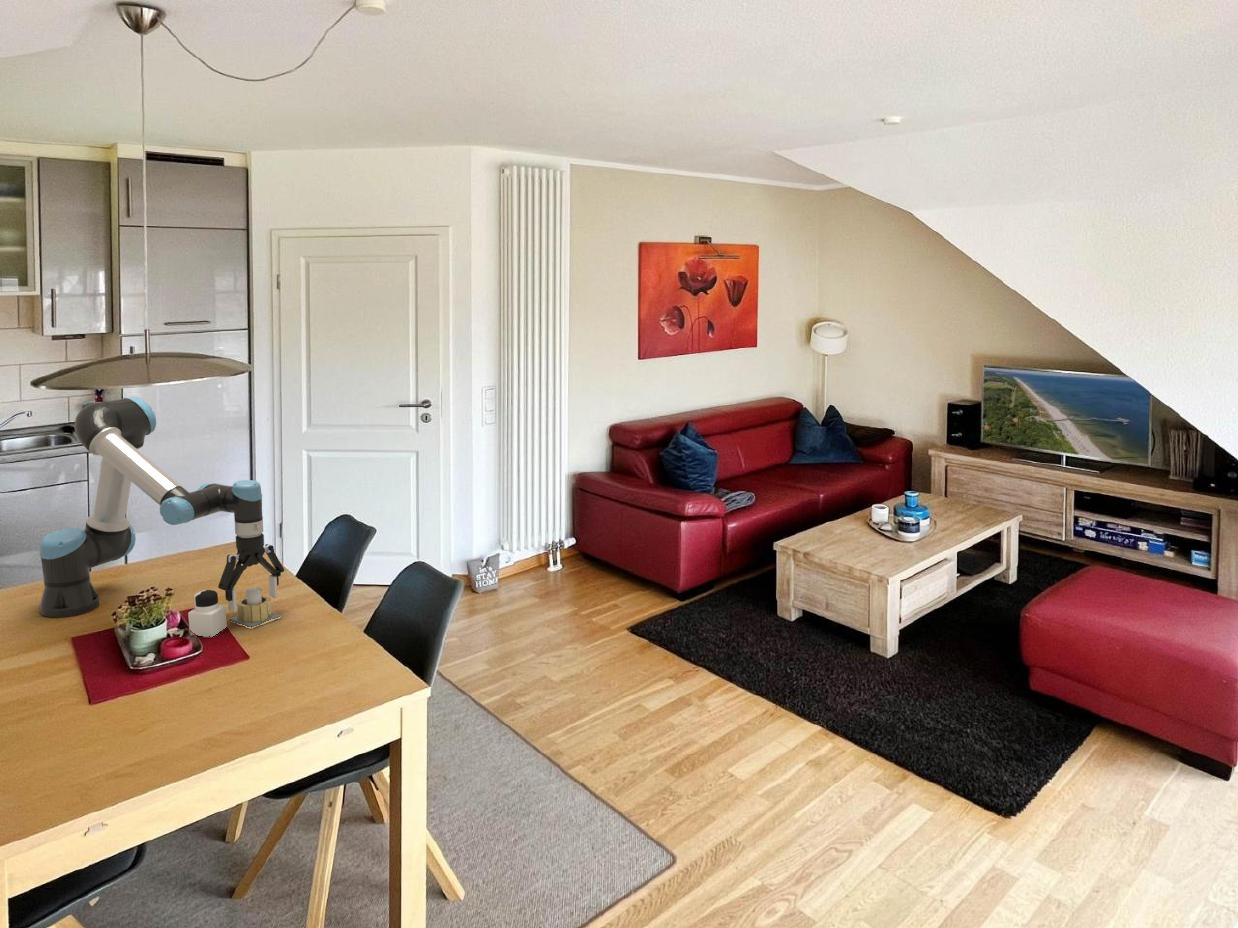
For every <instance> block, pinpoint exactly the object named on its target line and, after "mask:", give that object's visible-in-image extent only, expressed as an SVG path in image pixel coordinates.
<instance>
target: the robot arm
mask: <svg viewBox="0 0 1238 928" xmlns="http://www.w3.org/2000/svg"><path fill="white" fill-rule="evenodd" d="M156 427H157V417H156V413H155V411H153V409H152V406H151V405H150V404H149V403H148V402H146V401H145V400H144V399H142V398H138V397H124V398H121V399H115V400H114V399H113V400H107V401H101V402H99V401H98V402H93V403H90V404H87V405H85V406H84V407H82V408H81V410H80V411H79V412H78V414H77V415H76V416H75V420H74V431H75V434H76V437H77V439H78V441H79V443H80V444H81V445H82V446H83V447H84V449H86V450H87V451H88V452H90V453H91V454H92V455H93V456H100V457H101V466H100V470H99V476H98V477H99V478H98V483H97V489H96V496H95V501H94V502H95V503H94V509H93V514H91V515H89V516H87V518H86V523H85V528H84V529H82V528H79V527H70V528H69V527H68V528H65V529H58V530H55V531H53V532H50V533H48V534H46V535H45V536H44V537H42V539H41V540H40V543H39V548H40V549H39V556H40V560H41V566H42V567H41V568H42V576H43V583H44V584H43V585H44V587H43V588H44V589H43V591H42V596H41V599H40V603H39V610H40V615H42V616H44V617H48V618H66V617H73V616H79V615H83V614H86V613H89V612H91V611H94V610H95V609H97V608H98V607H99V606H100V603H101V602H100V597H99V594H98V592H97V590H96V589H95V587H94V584H93V583H92V581H91V576H90V569H91V568H94V567H98V566H101V565H104V564H106V563H110V562H113V561H117V560H119V559H121V558H123V557H125V556H128V555H129V554H130V553H131V552H132V550H133V549H134V547H135V544H136V538H137V537H136V533H134V532H135V529H134V528H133V526H132V525H131V524H130V520H129V519H128V518H126V515H127V508H128V503H129V497H130V490H131V486H132V484H134V485H135V486H136V487H137V488H138V489H140V491H142V492H143V493H145V494H146V495H147V496H148V497H149V498H151V500H153V502H155V503H156V504H158V505H159V514H160V516H161V517H162V520H163V521H164V522H165V523H167V524H169V525H170V526H171V525H173V526H177V525H182V524H186V523H190V522H192V521H194V520H197V519H201V518H203V517H207V516H209V515H213V514H216V513H218V512H223V513H224V512H225V513H231V514H233V517H234V533H235V535H236V536H235V546H236V550H237V552H236V554H227V556H226V563H225V567H224V568H223V569H224V570H223V572H222V575H221V577H220V580H219V583H218V586H217V587H218V588H217V589H220V590H222V591H224V593H225V600H226V601H227V603H228V611H231V612H234V613H236V612H238V611H237V593H236V592H237V590H236V589H235V586H236V585H237V583H238V581H239V579H240V577H242V574H243V573H244V571H245V570H247V569H248V567H252V566H254V565H255V566H256V565H258V564H260V565H261V566H262V567H263V568H264V569H265V570H266V571H267V572H268V573H270V575H268V589H269V591H268V592H269V597H270V598H274V599H277V598H278V597H279V596H278V586H279V584H280V579H279V578H280V577H281V576H282V573H284V572H285V567H284V566H283V565H282V563H281V561H280V559H279V558H278V556H277V554H276V552H275V548H274V545H271V544H268V543H266V544H265V535H264V533H263V532H264V517H263V494H262V488H261V487H262V486H261V484H260V482H259V481H257V480H254V479H253V480H251V479H249V480H248V479H243V480H237V481H234V483H233V484H232V486H231V485H225V484H220V483H214V482H213V483H204V484H202V485H200V486H199V488H198V489H197V490H194V491H191V492H190V491H188V490H187V489H185V488H184V487H183V486H182V485H181V484H179V483H178V482H177V481H175V479H173V478H172V477H171V476H170V475H168V474H167V473H166V472H165V471H164V470H163V469H162V468H160V467H159V466H158V465H157V464H156V463H154V462H153V461H152V460H151V459H150V458H148V456H146V455H145V454H144V453H142V452H141V451H140V450H139V449H142V448H143V446H144V445H145V444H144V443H145V437H146V436H149V435H151V434H152V433H153V432H155V430H156ZM265 553H266V555H267V557H268V559H269V560H270V562H271V564H270V563H269V562H268V560H267V559H266V558H265V557H264V554H265Z"/></svg>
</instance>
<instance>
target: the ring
mask: <svg viewBox="0 0 1238 928" xmlns="http://www.w3.org/2000/svg"><path fill="white" fill-rule="evenodd" d="M261 599H262V603H260V604H256V605H247V597H246V596H245V597H242V598H240V599H238V600H236V604H237V611H236V612H237V616H238V620H239V621H241V622H244V623H255V622H261V621H264V620H267V619H269V618H270V617H271V616H272V613H273V612H272V600H271V596H267V595H264V594H263V595H262V594H261Z"/></svg>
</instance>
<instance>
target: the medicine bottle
mask: <svg viewBox="0 0 1238 928" xmlns="http://www.w3.org/2000/svg"><path fill="white" fill-rule="evenodd" d="M193 602H194V608H193V609H192V610H191V611H189V612H188V613H187V615H188V626H189V631H190V630H191V631H192V632H193V633H195V634H196V635H198V636H203V637H202V638H212V637H213V636H215V635H216V634H218V633H219V632H220V631H222V630H223V629H225V628H226V627H227V628H228V626H227V613H226V605H225V604H219V596H218V591H216V590H211V589H204V590H201V591H198V592H196V593H195V594H194V595H193ZM227 628H226V629H227ZM226 629H225V630H226ZM223 631H224V630H223ZM223 631H222V632H223ZM219 634H220V633H219ZM219 634H218V635H219ZM209 636H210V637H209ZM216 636H217V635H216ZM216 636H215V637H216ZM213 638H214V637H213Z"/></svg>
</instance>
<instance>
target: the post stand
mask: <svg viewBox="0 0 1238 928" xmlns="http://www.w3.org/2000/svg"><path fill="white" fill-rule="evenodd" d="M245 592H246V596H245V597H247V605H256V604H260V603H262V599H261V595H262V588H261V587H259V586H253V587H249V588H247V589H246V590H245ZM280 616H281V617H282V615H280V614H277V613H274V612H272V616H271V617H270V618H269V619H267V620H264V621H261V622H255V623H244V622H241V621H239V620H238V615H235V616H232V617H230V618H229V622H230V621H232V622H235V623H238V624H242V625H245V626H247V627H251V628H252V627H254V626H257V625H260V624H262V623H264V622H266V621H269V620H271V619H275V618H278V617H280ZM232 622H231V623H232ZM235 623H234V624H235ZM238 624H237V625H238Z"/></svg>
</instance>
